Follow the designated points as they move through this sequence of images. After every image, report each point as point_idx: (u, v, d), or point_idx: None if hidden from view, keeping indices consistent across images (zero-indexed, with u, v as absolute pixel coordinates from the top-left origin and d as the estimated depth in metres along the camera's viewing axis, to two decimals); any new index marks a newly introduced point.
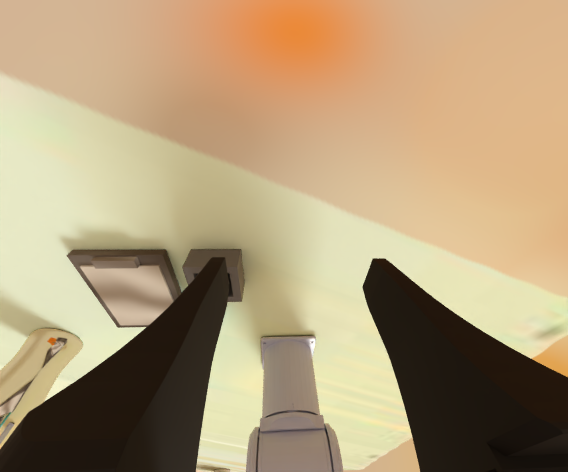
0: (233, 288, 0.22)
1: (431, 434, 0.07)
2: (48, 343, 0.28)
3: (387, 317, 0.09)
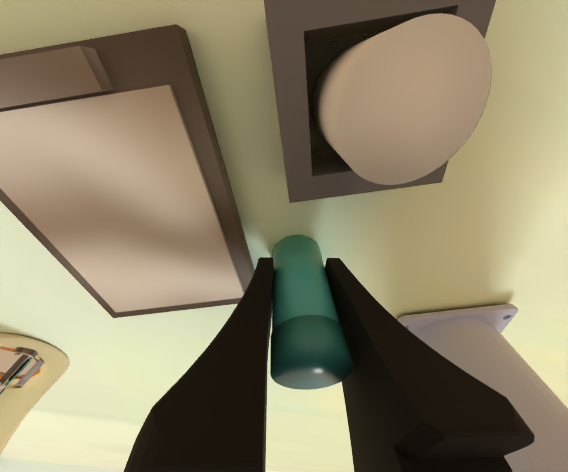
0: None
1: (361, 437, 0.07)
2: None
3: None
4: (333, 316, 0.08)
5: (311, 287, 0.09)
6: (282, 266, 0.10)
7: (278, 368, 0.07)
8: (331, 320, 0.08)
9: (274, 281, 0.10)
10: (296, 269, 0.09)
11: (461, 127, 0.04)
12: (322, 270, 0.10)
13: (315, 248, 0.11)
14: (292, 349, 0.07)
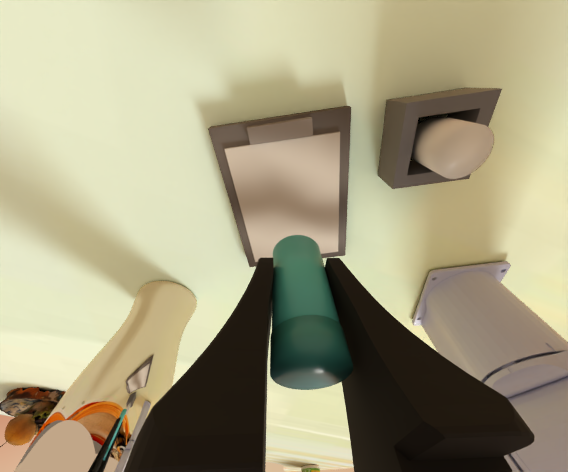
0: None
1: (361, 437, 0.07)
2: (165, 297, 0.21)
3: None
4: (333, 316, 0.08)
5: (311, 286, 0.09)
6: (282, 265, 0.10)
7: (278, 369, 0.07)
8: (331, 320, 0.07)
9: (274, 281, 0.10)
10: (296, 269, 0.09)
11: (482, 157, 0.12)
12: (322, 270, 0.10)
13: (315, 248, 0.11)
14: (292, 349, 0.07)
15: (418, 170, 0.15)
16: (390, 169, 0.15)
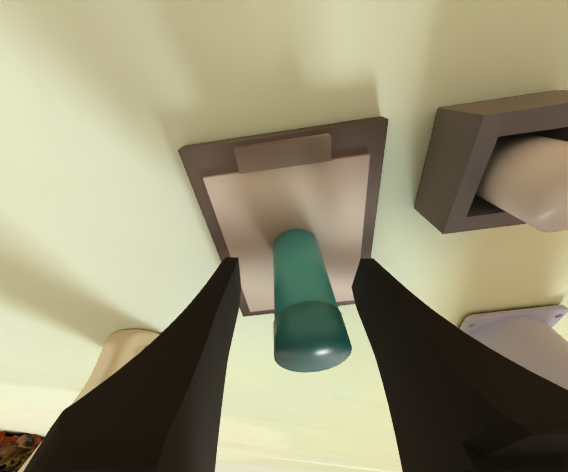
0: None
1: (412, 435, 0.07)
2: (136, 353, 0.17)
3: (373, 317, 0.09)
4: (332, 302, 0.08)
5: (311, 275, 0.09)
6: (282, 257, 0.10)
7: (282, 351, 0.07)
8: (330, 305, 0.08)
9: (275, 272, 0.10)
10: (296, 260, 0.10)
11: None
12: (321, 261, 0.10)
13: (314, 241, 0.11)
14: (295, 332, 0.07)
15: (479, 207, 0.10)
16: (440, 206, 0.10)
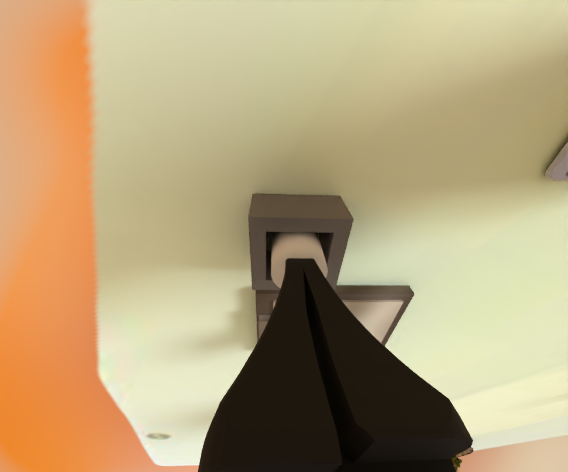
0: (309, 229, 0.11)
1: None
2: None
3: None
4: None
5: None
6: None
7: None
8: None
9: None
10: None
11: (309, 256, 0.10)
12: None
13: None
14: None
15: None
16: None
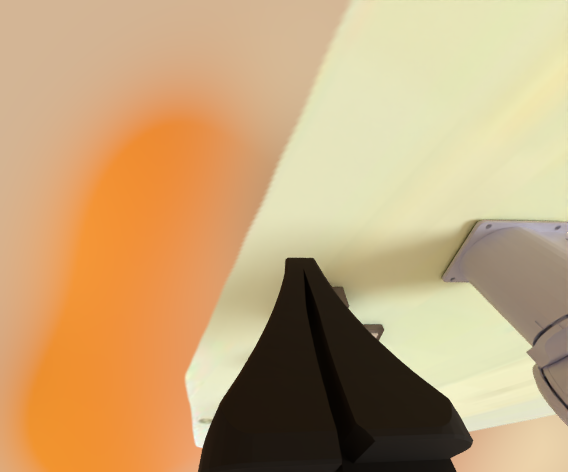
0: None
1: None
2: None
3: None
4: None
5: None
6: None
7: None
8: None
9: None
10: None
11: None
12: None
13: None
14: None
15: None
16: None
